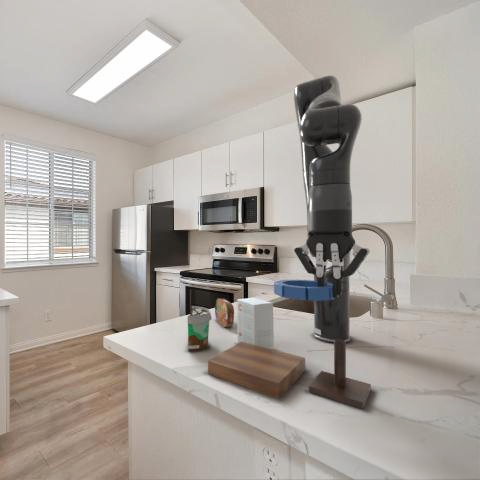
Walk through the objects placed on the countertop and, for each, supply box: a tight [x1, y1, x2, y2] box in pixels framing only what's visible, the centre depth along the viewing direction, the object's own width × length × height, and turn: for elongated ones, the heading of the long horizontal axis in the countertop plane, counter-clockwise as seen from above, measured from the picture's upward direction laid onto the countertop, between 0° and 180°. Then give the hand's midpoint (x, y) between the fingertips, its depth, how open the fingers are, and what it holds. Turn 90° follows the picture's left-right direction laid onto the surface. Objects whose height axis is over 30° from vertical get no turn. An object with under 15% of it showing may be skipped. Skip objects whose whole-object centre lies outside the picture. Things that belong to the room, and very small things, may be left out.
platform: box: [207, 342, 306, 400], centre depth 68 cm, size 16×16×3 cm
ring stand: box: [308, 339, 372, 410], centre depth 60 cm, size 9×9×10 cm
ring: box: [273, 279, 334, 302], centre depth 63 cm, size 11×11×2 cm
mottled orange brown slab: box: [214, 297, 235, 328], centre depth 106 cm, size 15×3×8 cm, turn 5°
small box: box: [236, 297, 275, 350], centre depth 83 cm, size 8×6×13 cm
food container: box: [187, 305, 212, 353], centre depth 85 cm, size 12×6×10 cm, turn 168°
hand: (329, 296), depth 59 cm, fingers closed on ring, 1 cm apart
